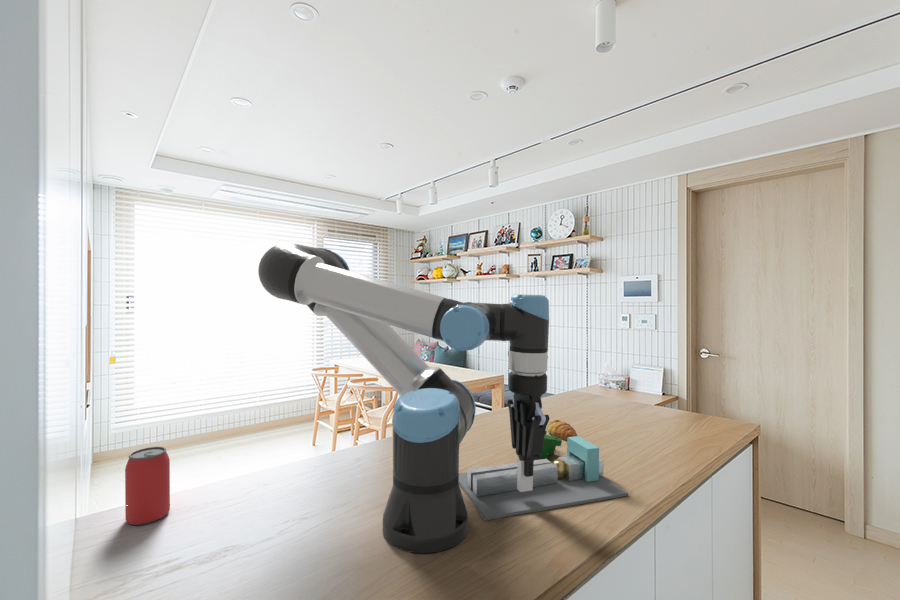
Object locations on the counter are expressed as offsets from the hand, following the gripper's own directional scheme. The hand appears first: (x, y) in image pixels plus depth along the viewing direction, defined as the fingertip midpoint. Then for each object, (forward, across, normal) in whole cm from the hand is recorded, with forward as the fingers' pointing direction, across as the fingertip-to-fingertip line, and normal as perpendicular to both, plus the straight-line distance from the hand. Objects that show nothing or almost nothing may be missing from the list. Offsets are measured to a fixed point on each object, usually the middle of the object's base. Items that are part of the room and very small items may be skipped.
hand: (524, 489), depth 82 cm
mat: (+2, +5, -6) cm, 8 cm away
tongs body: (+2, +6, -6) cm, 9 cm away
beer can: (+4, +16, +69) cm, 71 cm away
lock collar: (+2, +6, -18) cm, 19 cm away
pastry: (+3, +32, -30) cm, 43 cm away
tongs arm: (+2, +4, 0) cm, 5 cm away
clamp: (+3, +22, -16) cm, 28 cm away
